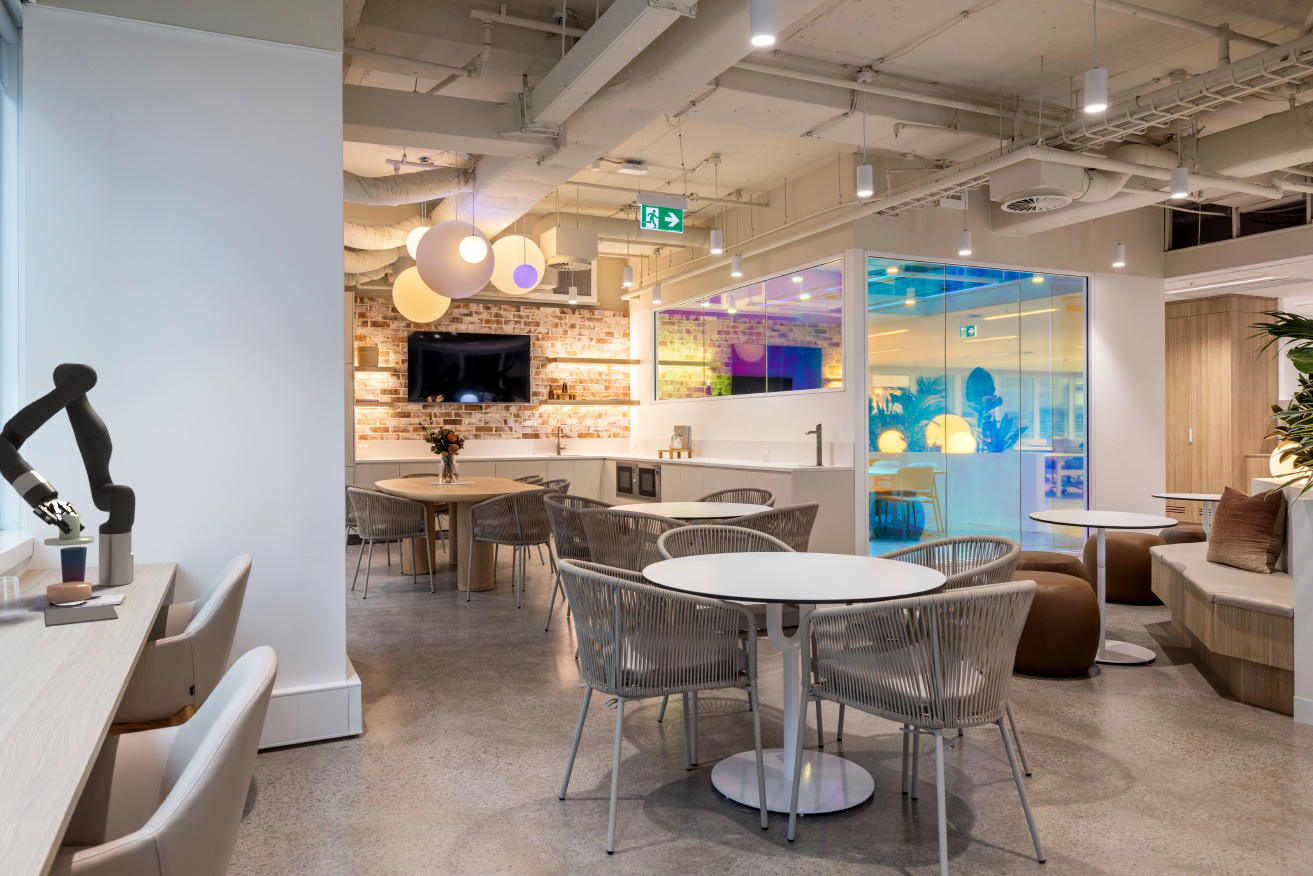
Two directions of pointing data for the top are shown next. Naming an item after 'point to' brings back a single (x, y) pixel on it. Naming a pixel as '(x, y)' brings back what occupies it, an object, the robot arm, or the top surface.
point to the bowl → (69, 592)
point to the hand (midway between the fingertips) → (75, 530)
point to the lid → (73, 536)
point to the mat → (79, 614)
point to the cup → (73, 564)
